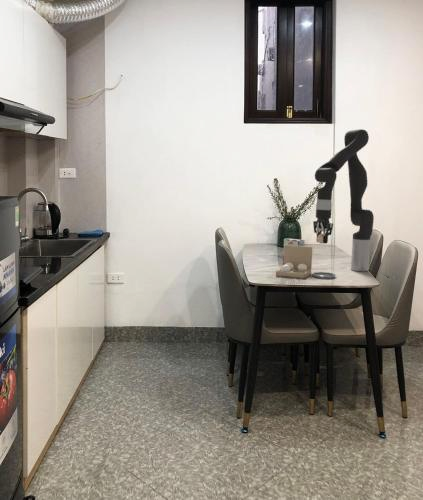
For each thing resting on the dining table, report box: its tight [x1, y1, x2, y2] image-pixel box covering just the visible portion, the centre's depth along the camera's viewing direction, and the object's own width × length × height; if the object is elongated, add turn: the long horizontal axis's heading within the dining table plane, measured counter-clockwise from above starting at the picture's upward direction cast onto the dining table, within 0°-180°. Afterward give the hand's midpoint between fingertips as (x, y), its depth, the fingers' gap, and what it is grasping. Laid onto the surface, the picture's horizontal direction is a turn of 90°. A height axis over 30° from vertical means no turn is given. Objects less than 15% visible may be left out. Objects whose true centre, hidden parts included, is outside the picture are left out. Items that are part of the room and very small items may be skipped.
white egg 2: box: [285, 262, 294, 270], centre depth 252 cm, size 5×5×5 cm
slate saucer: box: [311, 271, 336, 280], centre depth 244 cm, size 11×11×1 cm
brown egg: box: [316, 233, 324, 245], centre depth 240 cm, size 5×5×5 cm
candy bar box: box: [282, 238, 305, 266], centre depth 263 cm, size 11×5×16 cm, turn 40°
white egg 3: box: [297, 264, 307, 271], centre depth 249 cm, size 5×5×5 cm
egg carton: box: [275, 244, 313, 280], centre depth 247 cm, size 15×15×14 cm
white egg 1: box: [280, 264, 291, 272], centre depth 245 cm, size 5×5×5 cm
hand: (321, 242), depth 241 cm, fingers closed on brown egg, 5 cm apart
